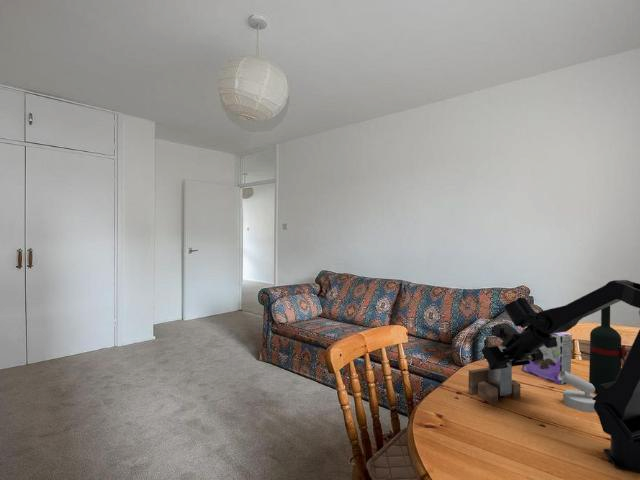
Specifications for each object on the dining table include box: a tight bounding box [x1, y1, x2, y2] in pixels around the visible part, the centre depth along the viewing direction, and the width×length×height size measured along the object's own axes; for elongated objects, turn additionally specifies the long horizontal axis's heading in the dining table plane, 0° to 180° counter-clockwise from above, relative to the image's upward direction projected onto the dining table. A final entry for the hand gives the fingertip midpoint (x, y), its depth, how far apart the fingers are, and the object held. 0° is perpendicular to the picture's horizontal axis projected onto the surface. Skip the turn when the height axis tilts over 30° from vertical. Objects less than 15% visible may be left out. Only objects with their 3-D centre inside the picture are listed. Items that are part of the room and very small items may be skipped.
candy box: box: [521, 327, 573, 385], centre depth 123 cm, size 14×6×16 cm, turn 25°
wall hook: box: [558, 370, 596, 413], centre depth 102 cm, size 9×10×10 cm
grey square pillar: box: [487, 345, 513, 397], centre depth 107 cm, size 4×4×13 cm
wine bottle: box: [588, 305, 628, 395], centre depth 110 cm, size 8×10×30 cm
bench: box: [468, 366, 521, 404], centre depth 108 cm, size 8×14×7 cm, turn 110°
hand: (496, 367), depth 108 cm, fingers closed on grey square pillar, 4 cm apart
